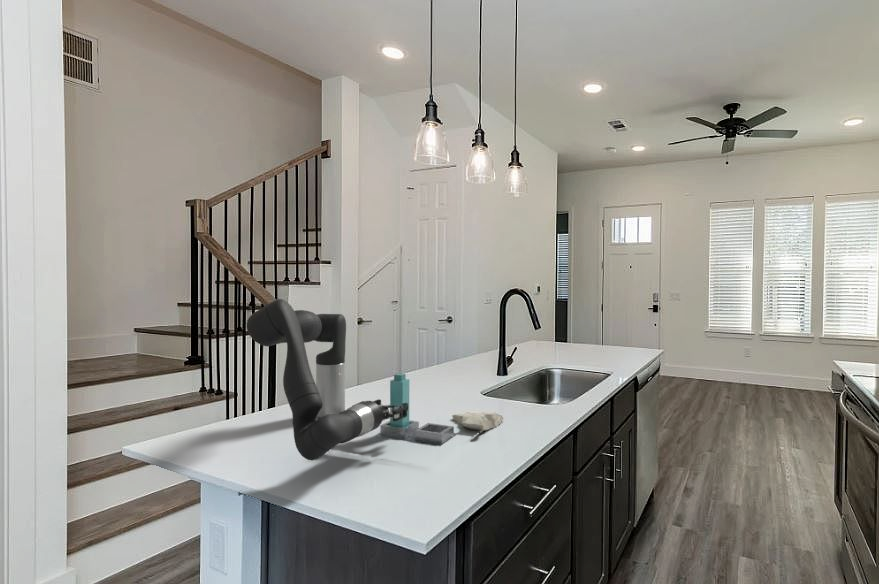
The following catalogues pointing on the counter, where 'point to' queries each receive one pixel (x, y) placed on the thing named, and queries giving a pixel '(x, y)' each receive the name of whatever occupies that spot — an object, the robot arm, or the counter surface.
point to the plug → (399, 397)
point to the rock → (479, 420)
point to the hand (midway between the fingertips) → (393, 404)
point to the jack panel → (418, 433)
